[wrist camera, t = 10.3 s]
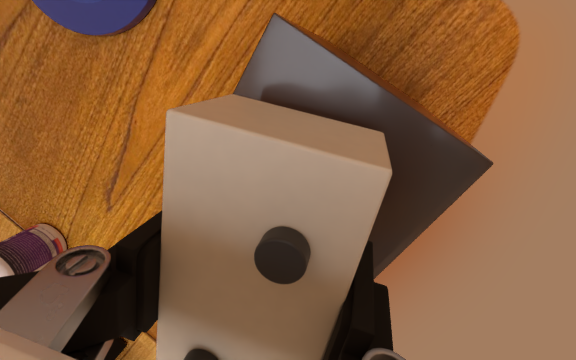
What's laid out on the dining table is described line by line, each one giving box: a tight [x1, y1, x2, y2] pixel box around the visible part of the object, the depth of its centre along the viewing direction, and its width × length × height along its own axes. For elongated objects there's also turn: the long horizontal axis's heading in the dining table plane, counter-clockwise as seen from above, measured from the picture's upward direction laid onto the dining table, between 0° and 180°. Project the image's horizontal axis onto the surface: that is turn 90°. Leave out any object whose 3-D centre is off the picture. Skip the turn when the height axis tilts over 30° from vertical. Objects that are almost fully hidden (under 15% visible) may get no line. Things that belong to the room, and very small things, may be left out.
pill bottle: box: [0, 224, 67, 277], centre depth 36 cm, size 5×5×10 cm
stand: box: [233, 13, 493, 279], centre depth 20 cm, size 13×9×15 cm
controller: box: [156, 94, 392, 360], centre depth 10 cm, size 10×5×4 cm, turn 168°
